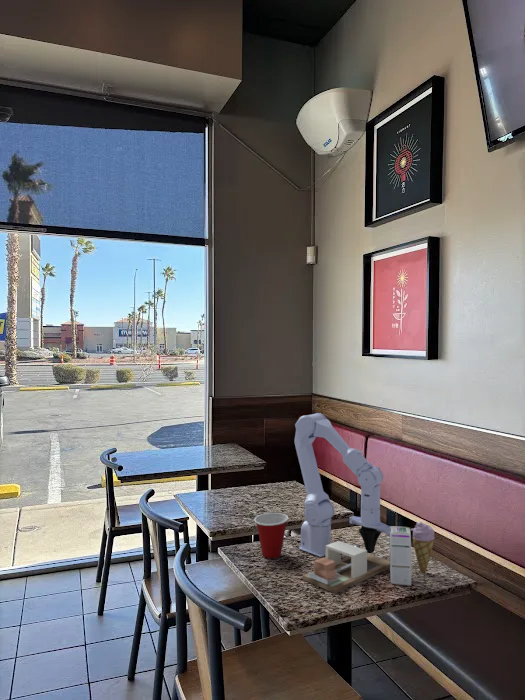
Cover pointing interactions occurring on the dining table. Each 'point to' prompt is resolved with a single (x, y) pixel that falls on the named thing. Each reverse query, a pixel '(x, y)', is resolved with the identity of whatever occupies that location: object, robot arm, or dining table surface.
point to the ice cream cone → (423, 544)
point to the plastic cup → (271, 533)
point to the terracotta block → (325, 568)
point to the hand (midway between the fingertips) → (370, 552)
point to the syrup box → (400, 555)
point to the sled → (332, 579)
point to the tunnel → (356, 554)
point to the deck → (373, 568)
